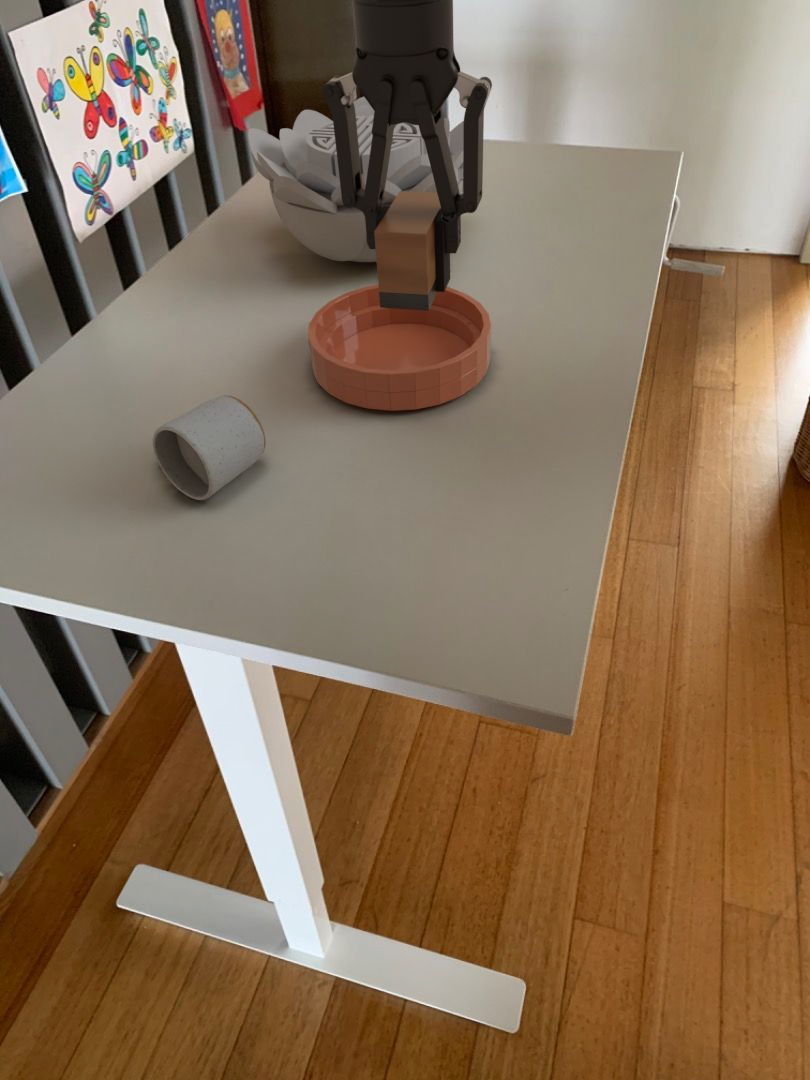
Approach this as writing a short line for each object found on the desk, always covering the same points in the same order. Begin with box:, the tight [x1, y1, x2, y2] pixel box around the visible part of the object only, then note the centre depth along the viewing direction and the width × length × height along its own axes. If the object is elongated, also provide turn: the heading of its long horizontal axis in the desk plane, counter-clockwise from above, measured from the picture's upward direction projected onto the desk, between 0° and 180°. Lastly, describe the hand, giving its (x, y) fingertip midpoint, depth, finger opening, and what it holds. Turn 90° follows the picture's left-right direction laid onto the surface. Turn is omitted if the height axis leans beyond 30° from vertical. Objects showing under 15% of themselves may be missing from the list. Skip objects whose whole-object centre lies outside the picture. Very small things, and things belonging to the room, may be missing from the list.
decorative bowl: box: [248, 96, 464, 263], centre depth 112 cm, size 30×30×15 cm
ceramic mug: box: [152, 395, 267, 501], centre depth 79 cm, size 11×8×8 cm
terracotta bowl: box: [307, 284, 492, 412], centre depth 92 cm, size 20×20×5 cm
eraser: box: [374, 191, 441, 311], centre depth 76 cm, size 9×4×7 cm, turn 166°
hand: (415, 282), depth 78 cm, fingers closed on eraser, 4 cm apart
